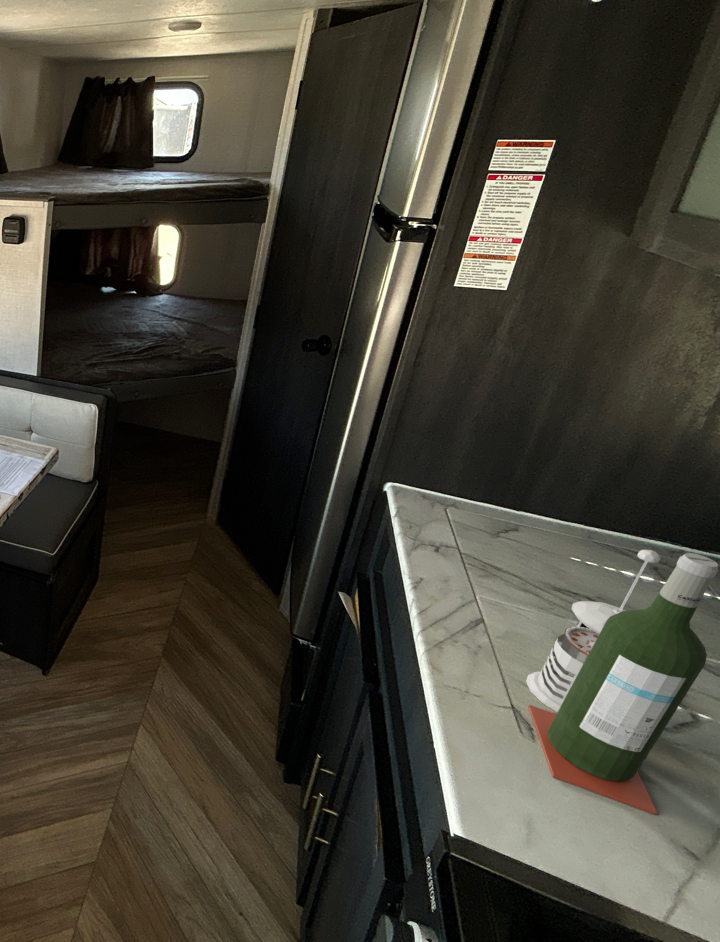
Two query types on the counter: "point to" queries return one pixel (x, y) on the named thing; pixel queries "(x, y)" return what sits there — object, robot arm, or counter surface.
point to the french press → (576, 645)
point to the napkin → (566, 771)
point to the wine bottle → (634, 678)
